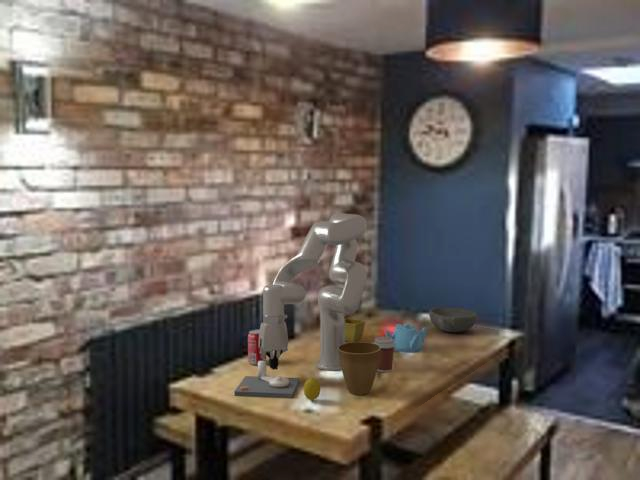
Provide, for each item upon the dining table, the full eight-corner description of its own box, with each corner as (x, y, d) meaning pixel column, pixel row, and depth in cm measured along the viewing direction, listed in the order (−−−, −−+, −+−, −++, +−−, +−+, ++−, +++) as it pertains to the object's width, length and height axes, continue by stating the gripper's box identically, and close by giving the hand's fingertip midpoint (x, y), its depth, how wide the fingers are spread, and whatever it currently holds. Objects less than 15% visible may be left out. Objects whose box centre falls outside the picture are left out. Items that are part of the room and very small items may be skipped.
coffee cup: (400, 369, 265) (400, 339, 263) (385, 374, 258) (385, 343, 257) (382, 364, 271) (382, 334, 270) (366, 369, 265) (367, 339, 263)
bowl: (481, 337, 313) (482, 316, 312) (432, 337, 313) (432, 316, 312) (471, 325, 336) (472, 305, 334) (425, 325, 336) (425, 305, 335)
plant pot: (356, 382, 249) (356, 339, 248) (388, 391, 239) (389, 347, 237) (328, 392, 239) (328, 347, 237) (361, 402, 228) (361, 355, 227)
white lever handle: (293, 384, 241) (293, 367, 241) (277, 388, 237) (277, 371, 236) (267, 374, 252) (267, 359, 251) (251, 379, 247) (251, 362, 246)
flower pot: (365, 340, 308) (365, 320, 307) (355, 344, 301) (356, 324, 300) (348, 337, 313) (348, 318, 312) (338, 341, 306) (338, 321, 304)
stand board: (299, 382, 249) (299, 375, 249) (292, 398, 233) (292, 391, 232) (245, 379, 252) (245, 373, 251) (234, 395, 235) (234, 388, 235)
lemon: (303, 398, 232) (303, 375, 231) (319, 397, 233) (319, 375, 232) (304, 404, 227) (304, 380, 226) (320, 403, 227) (321, 380, 226)
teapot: (429, 346, 298) (429, 322, 297) (418, 355, 284) (418, 329, 283) (395, 342, 305) (396, 318, 303) (383, 350, 291) (384, 325, 290)
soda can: (263, 366, 268) (263, 334, 267) (245, 365, 270) (245, 333, 268) (268, 361, 275) (268, 329, 274) (251, 360, 276) (250, 328, 275)
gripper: (288, 315, 255) (288, 363, 257) (250, 319, 248) (250, 368, 250) (296, 319, 248) (296, 368, 250) (258, 323, 241) (258, 374, 243)
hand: (273, 368), depth 250 cm, fingers closed
